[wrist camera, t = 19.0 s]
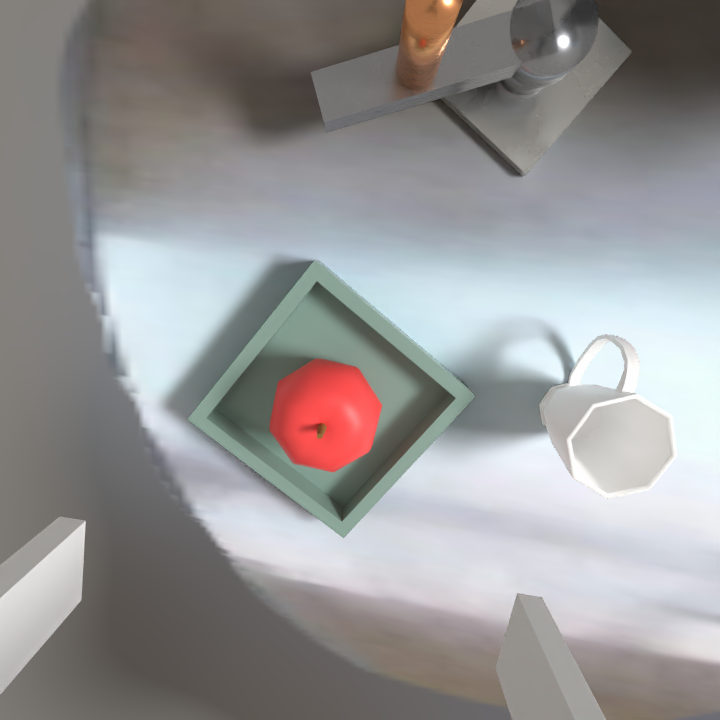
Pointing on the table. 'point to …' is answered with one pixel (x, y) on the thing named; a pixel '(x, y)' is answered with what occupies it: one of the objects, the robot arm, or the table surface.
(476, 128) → the crank post
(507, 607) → the table surface
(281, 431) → the apple
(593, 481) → the cup
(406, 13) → the crank
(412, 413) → the tray
